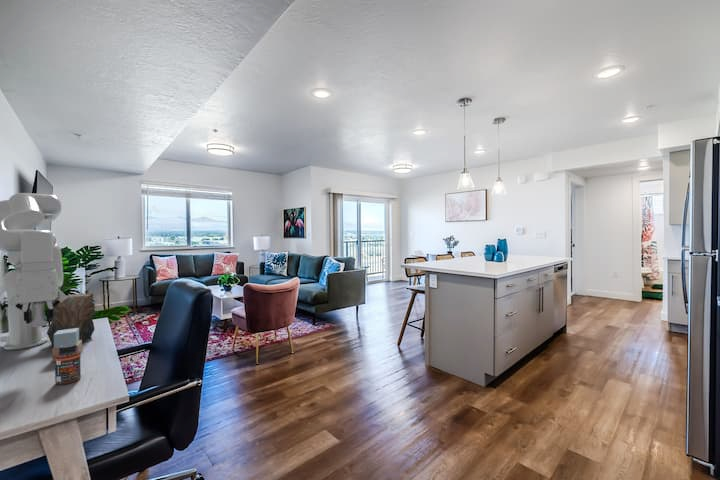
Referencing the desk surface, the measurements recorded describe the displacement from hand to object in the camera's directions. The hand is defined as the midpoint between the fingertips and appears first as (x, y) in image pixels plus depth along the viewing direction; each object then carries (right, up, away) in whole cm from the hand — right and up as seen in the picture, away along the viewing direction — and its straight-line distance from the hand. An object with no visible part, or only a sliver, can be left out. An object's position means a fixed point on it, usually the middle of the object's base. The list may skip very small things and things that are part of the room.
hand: (39, 321), depth 107 cm
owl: (-14, -17, +28) cm, 35 cm away
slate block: (-1, -12, +12) cm, 17 cm away
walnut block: (-1, -17, +12) cm, 21 cm away
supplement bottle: (+17, -17, -7) cm, 25 cm away
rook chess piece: (0, -2, 0) cm, 2 cm away
